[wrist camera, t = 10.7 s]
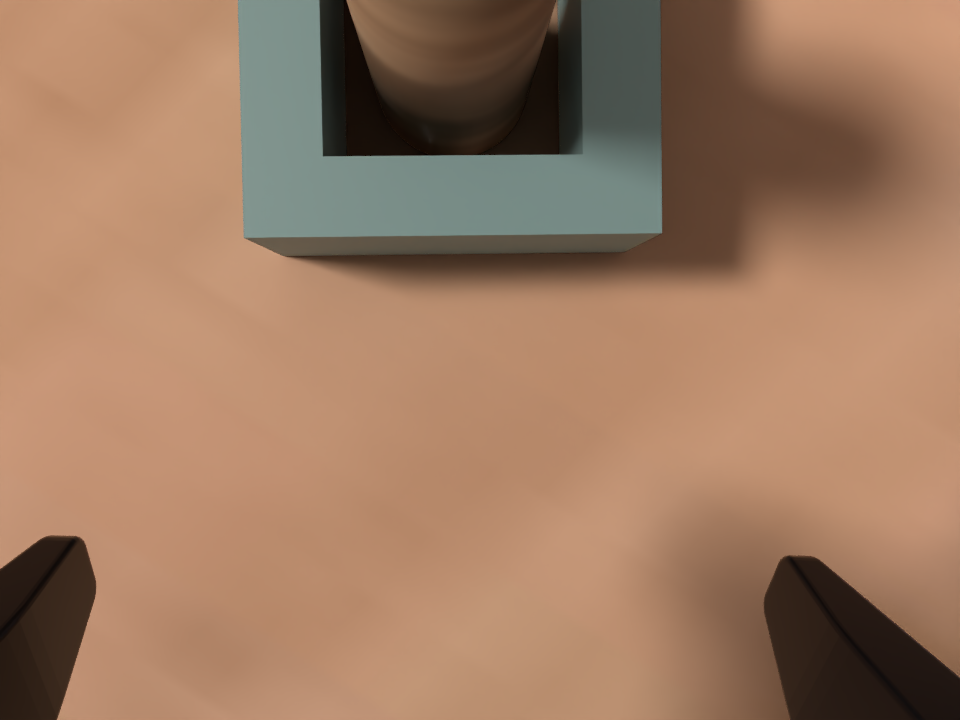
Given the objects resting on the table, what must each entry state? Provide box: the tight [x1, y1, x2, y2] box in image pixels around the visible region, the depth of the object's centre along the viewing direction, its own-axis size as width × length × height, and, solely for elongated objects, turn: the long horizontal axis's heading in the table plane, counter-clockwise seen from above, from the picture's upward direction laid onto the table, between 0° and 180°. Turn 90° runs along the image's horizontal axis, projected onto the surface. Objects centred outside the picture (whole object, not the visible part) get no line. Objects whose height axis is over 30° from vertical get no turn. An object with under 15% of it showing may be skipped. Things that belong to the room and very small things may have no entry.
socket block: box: [238, 0, 662, 256], centre depth 20 cm, size 10×10×4 cm
